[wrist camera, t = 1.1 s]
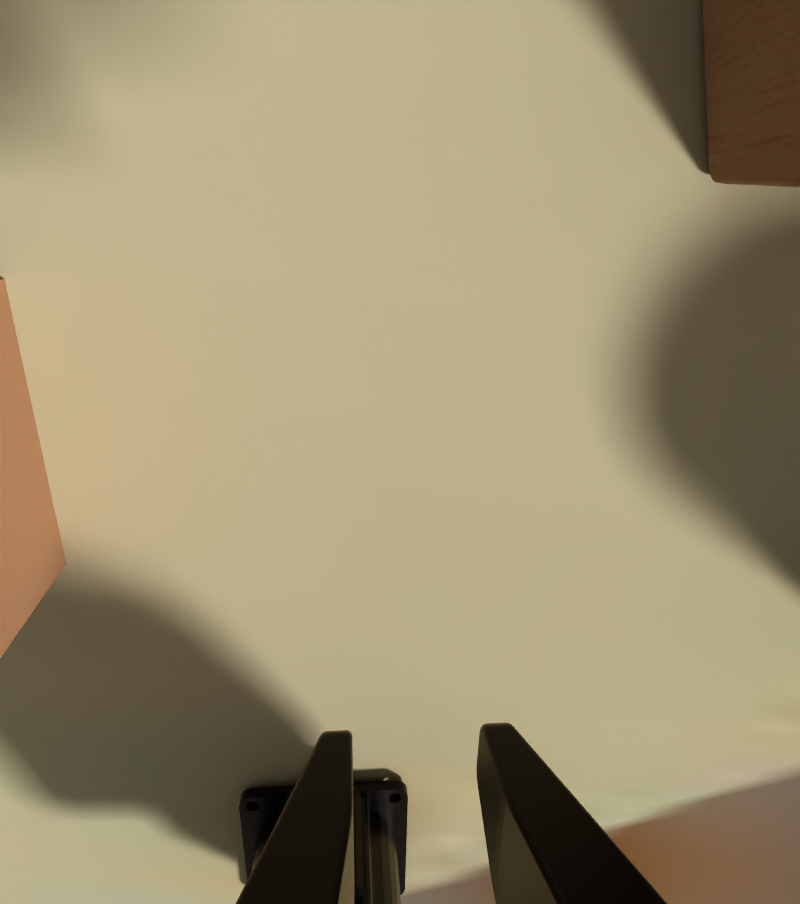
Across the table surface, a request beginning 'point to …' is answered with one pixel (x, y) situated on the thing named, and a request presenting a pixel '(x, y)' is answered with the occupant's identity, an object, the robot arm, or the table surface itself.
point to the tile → (22, 494)
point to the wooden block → (753, 91)
